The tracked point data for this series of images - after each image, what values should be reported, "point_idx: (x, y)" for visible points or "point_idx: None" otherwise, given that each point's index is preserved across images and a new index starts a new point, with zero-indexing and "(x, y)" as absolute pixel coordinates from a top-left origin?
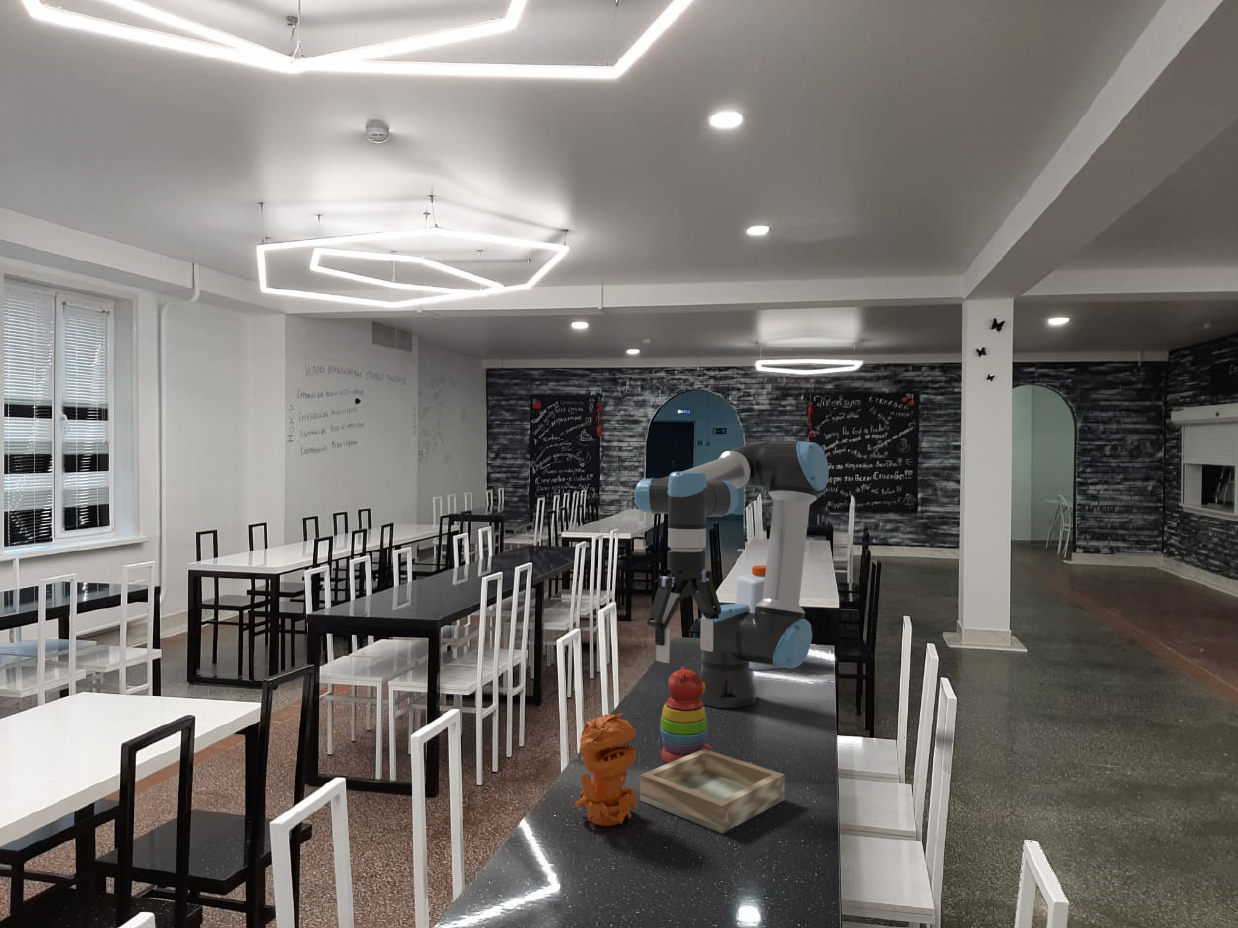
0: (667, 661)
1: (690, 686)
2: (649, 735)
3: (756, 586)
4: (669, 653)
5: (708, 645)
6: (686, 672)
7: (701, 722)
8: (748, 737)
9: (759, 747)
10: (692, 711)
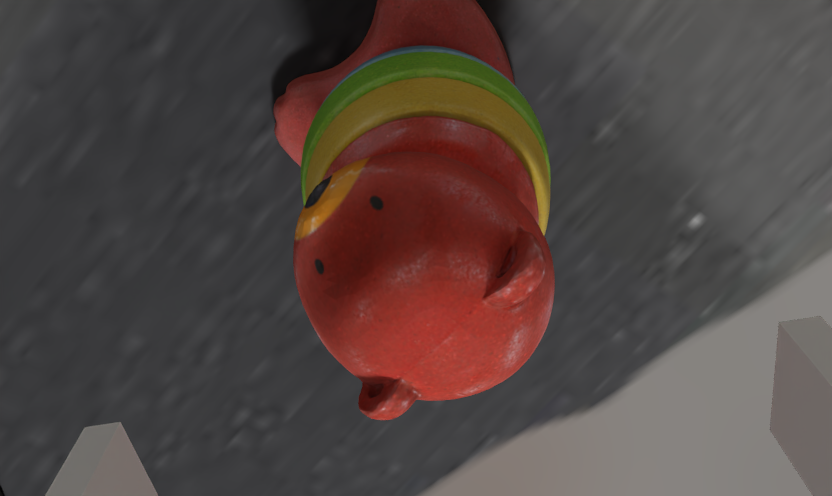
0: (818, 326)
1: (480, 188)
2: None
3: None
4: (828, 382)
5: (110, 485)
6: (455, 307)
7: (403, 71)
8: (15, 148)
9: (34, 24)
10: (460, 112)
